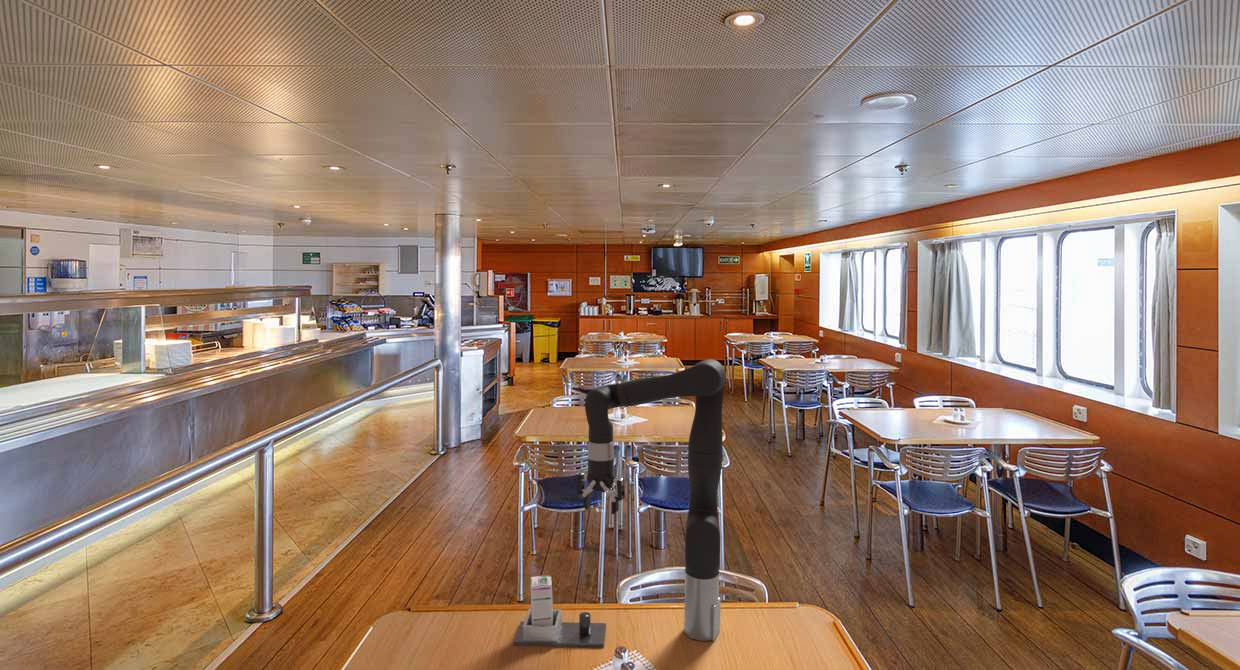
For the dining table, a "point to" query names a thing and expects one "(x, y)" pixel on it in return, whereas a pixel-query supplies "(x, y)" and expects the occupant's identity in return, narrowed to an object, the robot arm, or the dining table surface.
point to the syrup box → (541, 601)
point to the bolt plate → (561, 632)
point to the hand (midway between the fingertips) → (600, 511)
